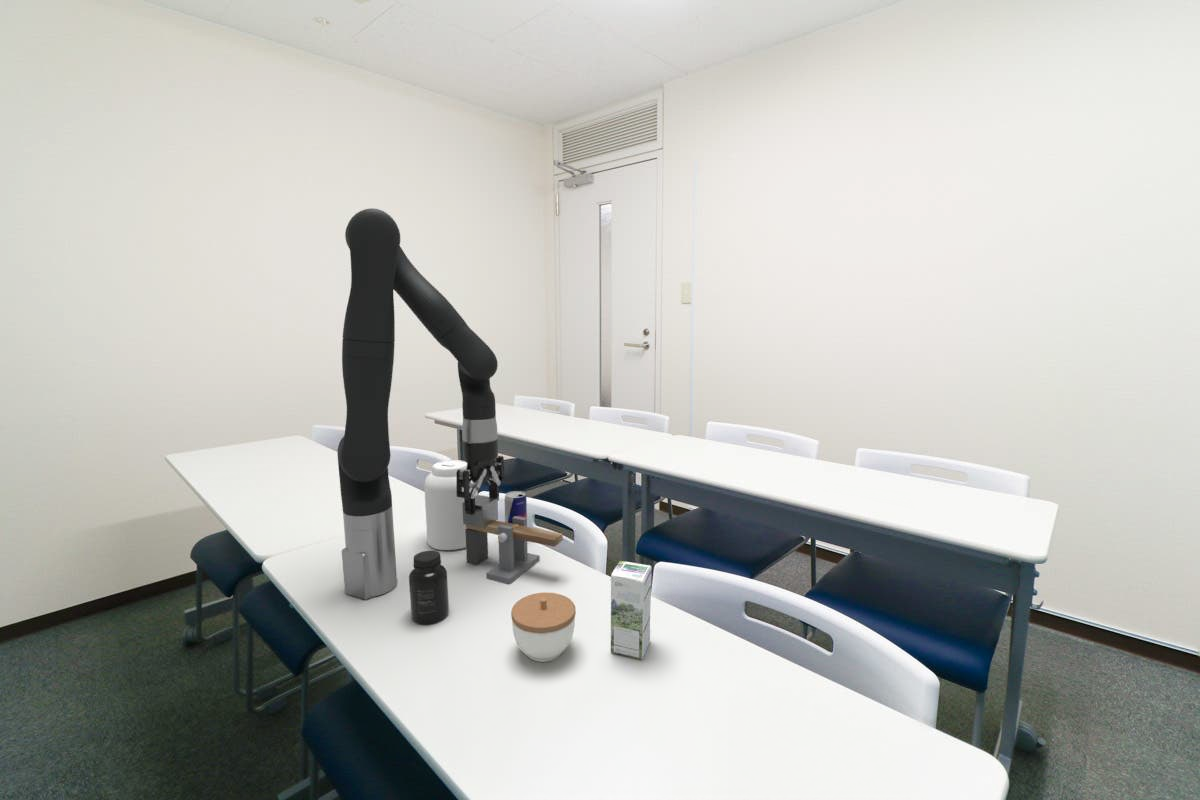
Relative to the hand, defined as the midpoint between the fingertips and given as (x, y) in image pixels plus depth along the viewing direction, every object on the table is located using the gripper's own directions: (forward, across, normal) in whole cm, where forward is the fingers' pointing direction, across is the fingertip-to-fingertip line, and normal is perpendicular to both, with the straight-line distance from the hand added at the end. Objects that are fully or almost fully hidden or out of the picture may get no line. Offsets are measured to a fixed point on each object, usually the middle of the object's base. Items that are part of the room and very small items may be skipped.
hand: (482, 507), depth 121 cm
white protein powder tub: (+13, -6, -14) cm, 20 cm away
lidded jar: (+13, +22, +29) cm, 39 cm away
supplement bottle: (+13, +22, +4) cm, 26 cm away
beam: (+4, 0, +8) cm, 9 cm away
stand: (+13, 0, +4) cm, 14 cm away
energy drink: (+13, -13, 0) cm, 19 cm away
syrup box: (+13, +15, +42) cm, 47 cm away
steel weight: (+3, 0, 0) cm, 3 cm away
